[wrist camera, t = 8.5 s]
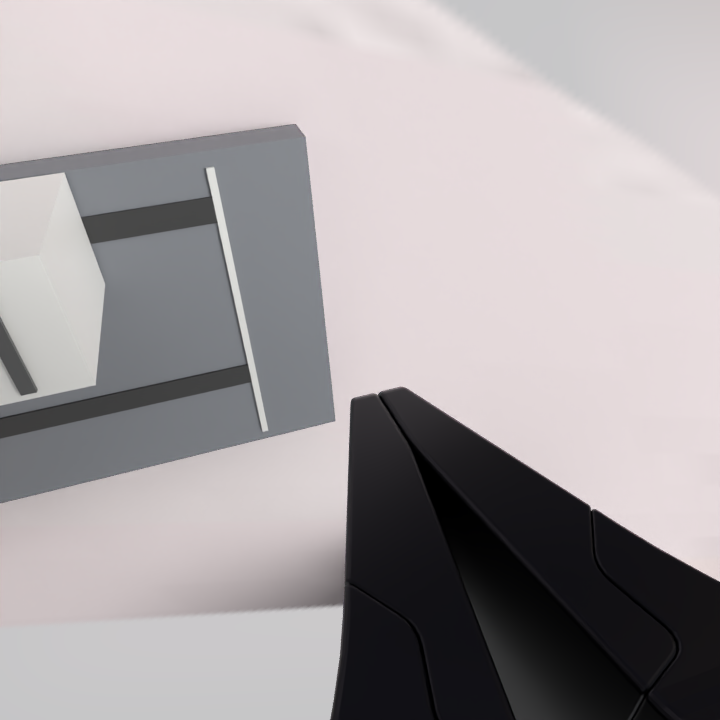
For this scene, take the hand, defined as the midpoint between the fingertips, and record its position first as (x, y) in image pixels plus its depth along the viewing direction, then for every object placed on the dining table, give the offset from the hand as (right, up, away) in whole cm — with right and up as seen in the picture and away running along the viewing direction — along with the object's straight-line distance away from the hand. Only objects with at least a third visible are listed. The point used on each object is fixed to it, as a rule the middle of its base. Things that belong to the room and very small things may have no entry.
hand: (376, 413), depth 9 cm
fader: (-8, +4, +5) cm, 10 cm away
